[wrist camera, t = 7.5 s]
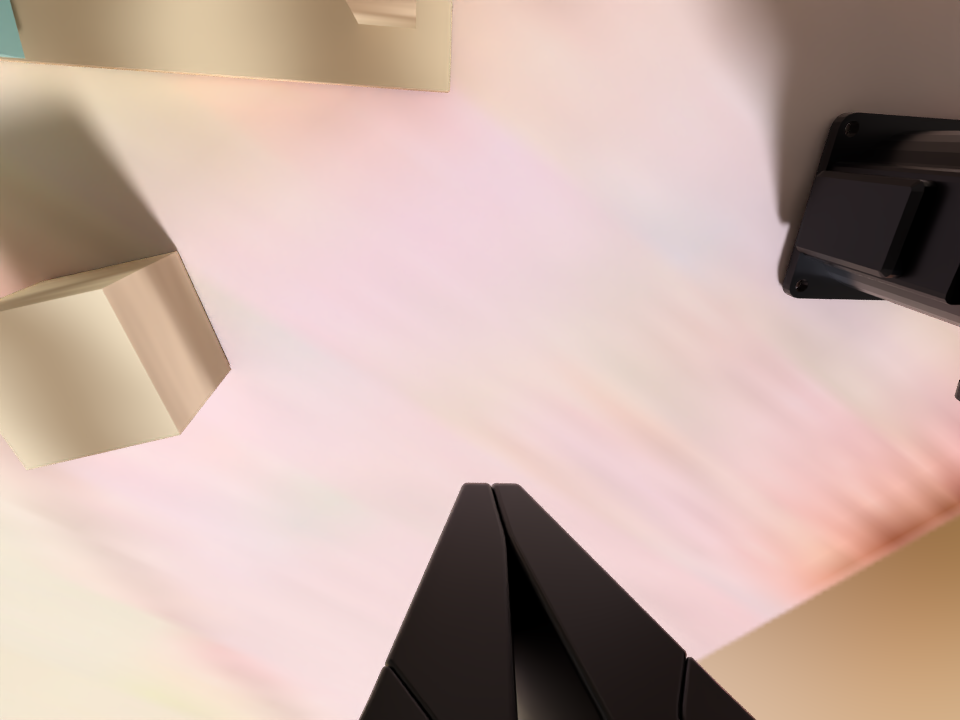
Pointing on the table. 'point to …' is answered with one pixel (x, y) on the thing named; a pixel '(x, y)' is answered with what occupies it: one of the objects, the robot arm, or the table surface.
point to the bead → (9, 33)
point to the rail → (248, 39)
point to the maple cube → (104, 360)
